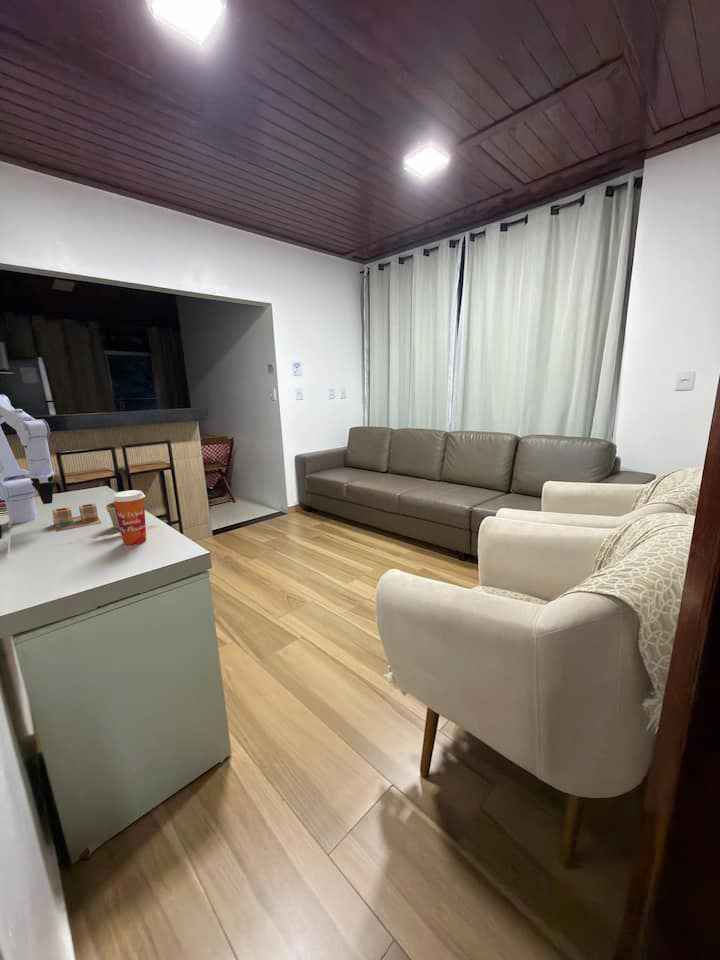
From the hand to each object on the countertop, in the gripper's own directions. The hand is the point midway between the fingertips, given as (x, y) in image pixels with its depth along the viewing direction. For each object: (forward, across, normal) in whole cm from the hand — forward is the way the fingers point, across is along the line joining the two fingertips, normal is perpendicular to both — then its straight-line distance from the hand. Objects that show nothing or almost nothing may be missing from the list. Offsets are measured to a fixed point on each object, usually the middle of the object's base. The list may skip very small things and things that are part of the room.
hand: (46, 501), depth 120 cm
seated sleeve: (+9, 0, +10) cm, 13 cm away
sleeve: (+9, 0, +3) cm, 9 cm away
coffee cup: (+10, +29, +18) cm, 36 cm away
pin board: (+10, 0, +7) cm, 12 cm away
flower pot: (+10, +15, +18) cm, 26 cm away
